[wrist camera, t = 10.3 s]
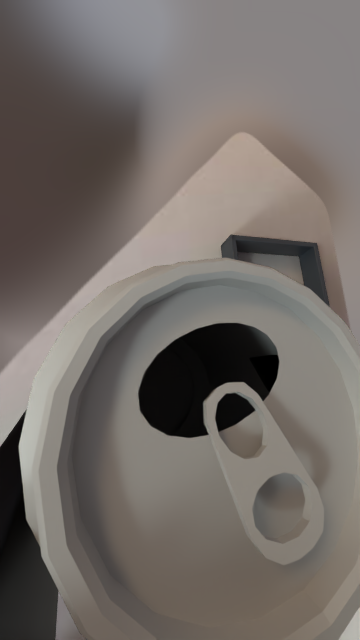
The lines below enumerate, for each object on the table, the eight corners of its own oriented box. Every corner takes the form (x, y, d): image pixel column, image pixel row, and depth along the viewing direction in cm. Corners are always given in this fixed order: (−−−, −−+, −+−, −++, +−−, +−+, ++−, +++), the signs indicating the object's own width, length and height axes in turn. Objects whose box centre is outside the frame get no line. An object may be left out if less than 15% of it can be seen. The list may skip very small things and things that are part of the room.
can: (180, 318, 16) (321, 191, 5) (222, 422, 16) (502, 539, 4) (68, 357, 14) (-117, 280, 3) (110, 483, 13) (87, 1107, 2)
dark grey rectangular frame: (323, 369, 28) (342, 368, 26) (235, 376, 25) (247, 377, 23) (301, 252, 31) (317, 242, 29) (220, 245, 28) (230, 234, 26)
